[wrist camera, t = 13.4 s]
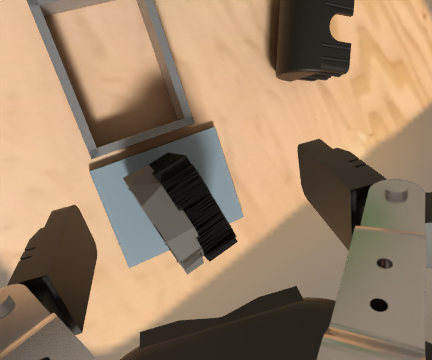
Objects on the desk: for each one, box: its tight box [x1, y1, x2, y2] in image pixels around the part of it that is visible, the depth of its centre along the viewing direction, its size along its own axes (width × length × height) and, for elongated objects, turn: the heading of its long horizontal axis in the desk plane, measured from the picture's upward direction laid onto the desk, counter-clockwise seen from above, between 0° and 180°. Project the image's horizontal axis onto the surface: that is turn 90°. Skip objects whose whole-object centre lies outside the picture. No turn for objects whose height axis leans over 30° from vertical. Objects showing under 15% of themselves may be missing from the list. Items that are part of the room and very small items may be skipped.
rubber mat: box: [89, 127, 244, 268], centre depth 38 cm, size 14×11×1 cm
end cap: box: [276, 0, 354, 81], centre depth 39 cm, size 10×7×7 cm
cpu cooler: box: [123, 153, 238, 274], centre depth 33 cm, size 10×6×10 cm, turn 32°
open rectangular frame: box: [27, 0, 194, 159], centre depth 29 cm, size 11×16×14 cm
